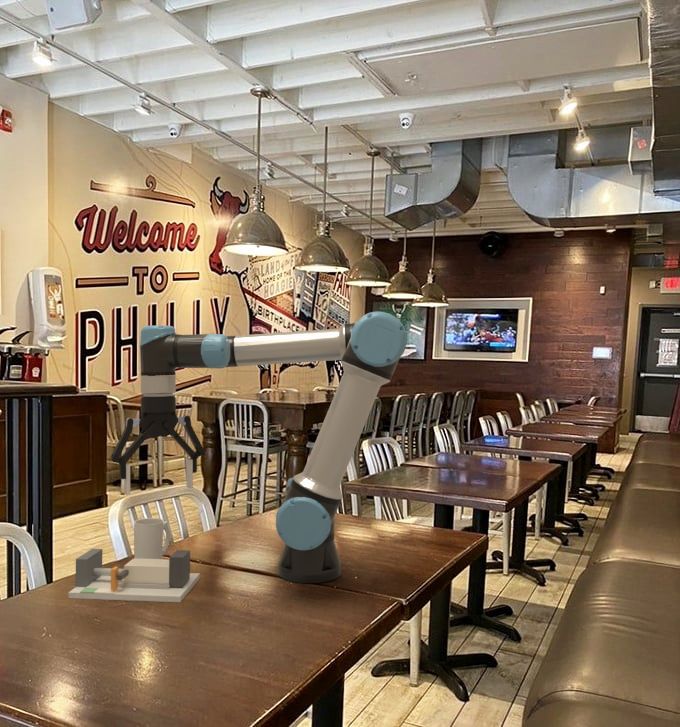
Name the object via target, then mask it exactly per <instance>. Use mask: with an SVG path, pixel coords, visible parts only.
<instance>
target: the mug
mask: <svg viewBox="0 0 680 727" xmlns="http://www.w3.org/2000/svg"><path fill="white" fill-rule="evenodd" d="M133 527H134V528H133V548H134V549H133V558H138V559H163V556H164V555H167V553H168V549H169V545H170V541H171V532H170V528H169V525H168V521H164V520H163V519H162V518H159V517H158V518H157V517H146V518H140V519H136V520H134V522H133ZM164 532H165V540H164V539H163V538H164ZM163 540H164V541H163ZM163 543H164V544H163Z"/></svg>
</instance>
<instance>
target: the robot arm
mask: <svg viewBox="0 0 680 727" xmlns="http://www.w3.org/2000/svg"><path fill="white" fill-rule="evenodd" d="M407 336H408V335H407V332H406V328H405V327H404V325H403V323H402V322H401V321H400V319H398V317H396V316H394V315H392V314H391V313H388V312H384V311H379V310H378V311H372V312H368V313H366V314H364V315H362V316H361V317H360V318H358V320H357V321H356V322H354V323H343V324H342V325H341V326H340V327H339V328H330V329H329V328H328V329H312V330H297V331H285V332H270V333H269V332H267V333H257V334H242V335H226V334H221V333H220V334H218V333H203V334H199V333H198V334H195V333H194V334H179V333H176V328H175V327H174V326H172V325H145V326H143V327H142V328H141V330H140V344H139V352H140V353H139V356H140V357H139V358H140V361H139V362H140V393H141V395H143V396H141V397H140V417H139V418H131V417H127V418H126V419H125V424H124V429H123V431H122V433H121V435H120V437H119V439H118V441H117V443H116V445H115V448H114V449H113V451H112V454H111V456H110V458H109V460H111V462H113V463H117V464H118V466H119V471H118V472H119V479H120V480H124V494H125V495H126V496H131V464H130V463H129V460H130V459H131V457H133V456H134V454H135V453H136V452H137V450H138V449H139V448H140V447H141V446H142V444H143V443H144V442H145V441H146V440H147V439H148V438H149V437H150V438H154V439H155V438H159V437H161V438H168V437H169V436H170V437H171V438H172V439H173V440H174V441H175V442H176V444H178V445H179V446H180V447H181V449H182V450H183V451H184V452H185V453H186V454H187V455H188V456H189V457H187V458H186V459H185V464H186V467H185V470H186V474H185V475H186V476H185V477H186V478H185V480H186V488H188V489H190V490H191V489H194V479H193V478H194V476H193V474H196V473H197V471H198V459H199V458H200V457H202V456H205V455H206V451H205V449H204V447H203V446H202V443H201V441H200V439H199V438H198V435H197V434H196V431H195V430H194V428H193V426H192V421H191V420H192V419H191V416H189V415H187V414H186V415H185V414H184V415H183V416H179V417H178V416H177V397H176V396H175V395H174V394H176V392H177V390H176V385H177V384H176V382H177V381H176V375H177V374H176V369H224V368H235V367H249V366H250V367H251V366H264V365H265V366H267V365H279V364H282V365H283V364H297V363H298V364H300V363H313V362H315V363H316V362H327V361H329V362H330V361H340V363H341V365H342V368H343V374H342V377H340V381H339V384H338V386H337V388H336V391H335V393H334V396H333V397H332V401H331V403H330V406H329V407H328V410H327V413H326V415H325V417H324V420H323V422H322V425H321V427H320V430H319V432H318V435H317V437H316V440H315V442H314V445H313V446H312V449H311V452H310V454H309V457H308V460H307V461H306V464H305V466H304V468H303V471H302V472H300V473H298V474H295V475H293V477H289V478H288V479H287V482H286V487H285V490H286V495H285V497H284V499H283V502H282V504H281V505H280V506H279V507H278V509H277V511H276V515H275V528H276V532H277V534H278V536H279V538H280V540H281V541H282V542H283V543H284V547H283V549H282V552H281V554H280V559H279V561H278V568H277V570H278V571H277V575H278V576H279V577H280V578H281V579H283V580H285V581H287V582H288V581H289V582H293V583H301V584H318V583H319V584H320V583H325V582H326V583H327V582H330V581H331V582H332V581H333V580H336V579H338V578H339V577H340V576H341V575H342V563H341V559H340V556H339V553H338V550H337V547H336V543H335V523H336V522H335V521H336V520H335V517H336V514H337V511H338V509H339V507H340V504H341V502H342V499H343V494H342V491H341V489H340V486H341V483H342V481H343V480H344V479H343V478H344V477H345V474H346V472H347V469H348V467H349V464H350V462H351V459H352V457H353V455H354V451H355V449H356V446H357V445H358V442H359V440H360V437H361V434H362V433H363V429H364V428H365V426H366V423H367V421H368V418H369V415H370V413H371V410H372V408H373V406H374V403H375V400H376V399H377V395H378V394H379V391H380V388H381V387H382V386H384V385H386V384H389V383H390V382H391V380H392V378H393V375H394V372H395V371H396V368H397V365H398V364H399V360H400V359H401V357H402V355H403V354H404V353H405V351H406V348H407V342H408V337H407ZM178 423H179V424H180V426H183V427H184V430H185V432H186V434H187V436H188V438H189V440H190V442H191V444H192V446H193V448H194V449H195V451H194V450H193V448H192V447H191V446H190V445H189V444H188V443H187V442H186V440H184V438H183V437H181V435H180V434H179V433H178V432H177V430H176V429H175V428H176V426H177V425H178ZM137 425H139V427H140V428H141V429H142V430H141V431H140V433H139V434H138V435H137V437H136V438H135V440H134V441H133V442H132V443H131V444H130V445H129V447H128V448H127V449H126V450H125V451H124V453H123V454H122V452H123V450H124V449H125V446H126V444H127V442H128V440H129V438H130V436H131V434H132V431H133V429H136V427H137Z"/></svg>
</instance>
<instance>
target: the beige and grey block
mask: <svg viewBox="0 0 680 727" xmlns="http://www.w3.org/2000/svg"><path fill="white" fill-rule="evenodd" d="M168 558H169V559H163V558H162V559H138V558H134V557H133V558H132V559H131V560H130V561H128V562H127V563H125V564H124V566H123V569H124V570H123V571H122V572H121V573H120V574H118V575H117V580H123V579H124V583H130V584H158V585H170V586H169V587H183V586H184V585H185V584H186V583H187V581H188V580H189V579H190V573H191V550H188V549H186V550H184V549H183V550H182V549H176V550H175V551H174V553H172V554H171V555H170V556H169V557H168Z"/></svg>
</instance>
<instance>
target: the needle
mask: <svg viewBox="0 0 680 727" xmlns="http://www.w3.org/2000/svg"><path fill="white" fill-rule="evenodd" d="M119 569H120V568H119V566H113V567H112V569H111V590H116V589H117V588H118V580H117V575H118V572H119Z"/></svg>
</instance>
